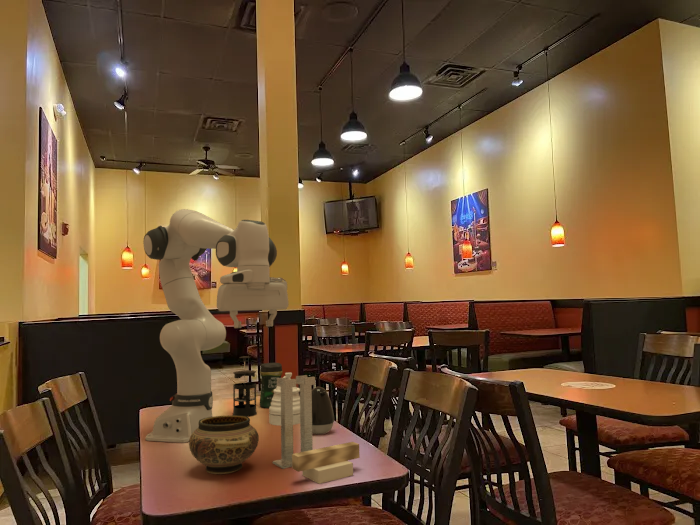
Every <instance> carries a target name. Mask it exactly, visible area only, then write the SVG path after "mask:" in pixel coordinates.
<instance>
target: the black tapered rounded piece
mask: <svg viewBox="0 0 700 525" xmlns="http://www.w3.org/2000/svg"><path fill="white" fill-rule="evenodd" d="M311 390H312V435H325V434H328V432H330V431H331V430H332V428H333V425H334V422H335V415H334V409H333V406H332V400H331V398H330V396H329V393H328V392H327V390H326V389H325V388H324V387H321V386H316V387H315V386H314V388H312V389H311Z"/></svg>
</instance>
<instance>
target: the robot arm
mask: <svg viewBox="0 0 700 525" xmlns="http://www.w3.org/2000/svg"><path fill="white" fill-rule="evenodd" d="M142 242H143V243H142V244H143V250H144V252H145V255H146V256H147V257H148V258H149V259H151V260H157V261H159V262H158V273H159V280H160V285H161V288H162V291H163V294H164V299H165V301H166V305H167V308H168V309H169V310H170V312H171V313H173V314H175V315H176V316H177V317H179V319H178V320H174V321H171V322H169V323H165V325H164V326H162V329H161V330H160V333H159V342H160V346H161V347H162V349H164V350H165V351H166V352H167V353H168V354H169V355H170V357H171V359H172V361H173V363H174V365H175V367H174V368H175V370H176V382H177V384H176V385H177V386H176V388H177V389H176V390H177V391H176V392H177V393H175V394H174V395H172V396H171V397H170V398H169V401H170V402H171V405H170V406H169V407H168V408H167V409H166V410H164V411H163V412H162V413H160V415H158V416H157V417H156V418H155V420H154V423H153V427H152V431H151V432H149V433H147V435H146V436H145V441H149V442H150V441H152V442H165V443H166V442H167V443H181V444H182V443H189V440H190V436H191V435H192V433H193V432H194V431H195V430H196V429H197V428H198V427H199V420H201V419H203V418H208V417H214V416H213V405H214V404H213V403H214V398H213V391H212V369H211V367H210V366H209V365H208V364H206V363H205V361H204V360H203V357H202V355H201V354H202V353H201V351H202V352H203V351H208V350H212V349H216V348H218V347H220V346H221V345H222V344H223V343H224V342H225V340H226V337H227V330H226V326H225V324H224V323H223V322H222V321H220V320H218V319H217V318H215V316H214V315H213V314H212V313H211V312H210V310H209V309H208V308H207V306H206V305H205V303H204V302H203V299H202V298H201V296H200V292H199V290H198V288H197V285H196V284H197V283H196V281H195V278H194V275H193V273H192V269H191V267H190V263H191V260H192V261H193V262H195V261H198V260H199V257H201V256H202V255H203V254H205V252H206V251H207V249H209V250H211V249H212V250H215V256H216V259H217V261H218V262H219V263H220V265H222V266H223V267H227V268H236V269H237V270H236V271H232V272H230V273H228V274H224V275H221V276H220V278H219V282H220V285H219V287H218V289H217V292H216V293H217V295H216V309H217V310H218V311H219V312H229V317H230V318H231V320H232V322H233V328H234V329H241V328H242V320H240V321H239V319H238V317H237V316H238V315H239V313H238V311H239V312H241V311H242V312H243V311H268V313H269V317H268V319H266V320H265V326H266V327H273V326H274V320H275V318H276V316H277V314H278V310H284V311H285V310H287V309H288V307H289V297H288V296H289V293H288V282H287V280H286V279H284V278H283V277H274V276H273V277H270V267H271V266H273V264H274V263H275V261H276V259H277V254H278V250H277V247H276V245H275V243H274V241H273V240H272V238H270V236H269V229H268V226H267V223H265V222H263V221H260V220H251V219H241V220H240V221H238V223H237V225H236V228H231V227H230V226H227V225H225V224H224V223H221V222H220V221H218V220H215V219H213V218H212V217H209V215H208V216H207V215H206V214H203V213H201V212H199V211H197V210H193V209H189V208H187V209H186V208H182V209H178V210H176V211H175V212H174V213H172V214H171V217H170V219H169V225H168V226H162V225H158V226H157V227H155V228H153V229H151V230H150V229H149V230H148V231H147V232H146V233H145V235H144V236H143V241H142Z"/></svg>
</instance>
